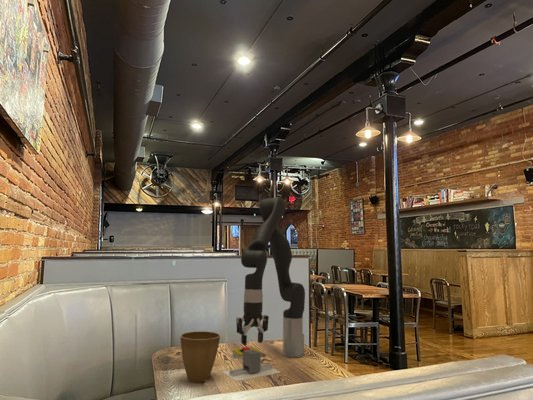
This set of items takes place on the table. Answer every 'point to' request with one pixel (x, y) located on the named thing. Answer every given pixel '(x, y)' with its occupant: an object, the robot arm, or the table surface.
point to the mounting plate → (251, 374)
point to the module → (252, 360)
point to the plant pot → (199, 354)
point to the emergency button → (241, 352)
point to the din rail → (246, 370)
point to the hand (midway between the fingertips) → (252, 343)
